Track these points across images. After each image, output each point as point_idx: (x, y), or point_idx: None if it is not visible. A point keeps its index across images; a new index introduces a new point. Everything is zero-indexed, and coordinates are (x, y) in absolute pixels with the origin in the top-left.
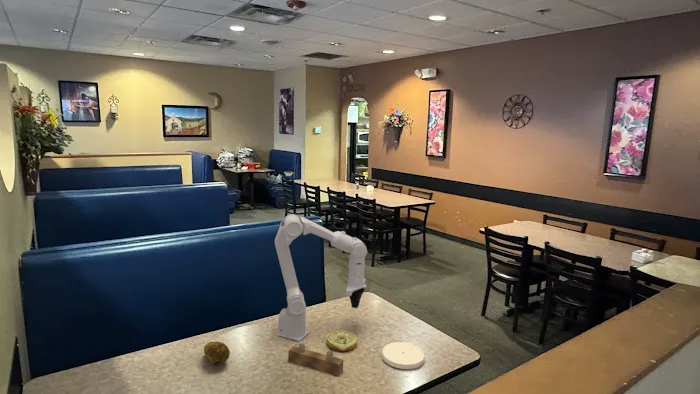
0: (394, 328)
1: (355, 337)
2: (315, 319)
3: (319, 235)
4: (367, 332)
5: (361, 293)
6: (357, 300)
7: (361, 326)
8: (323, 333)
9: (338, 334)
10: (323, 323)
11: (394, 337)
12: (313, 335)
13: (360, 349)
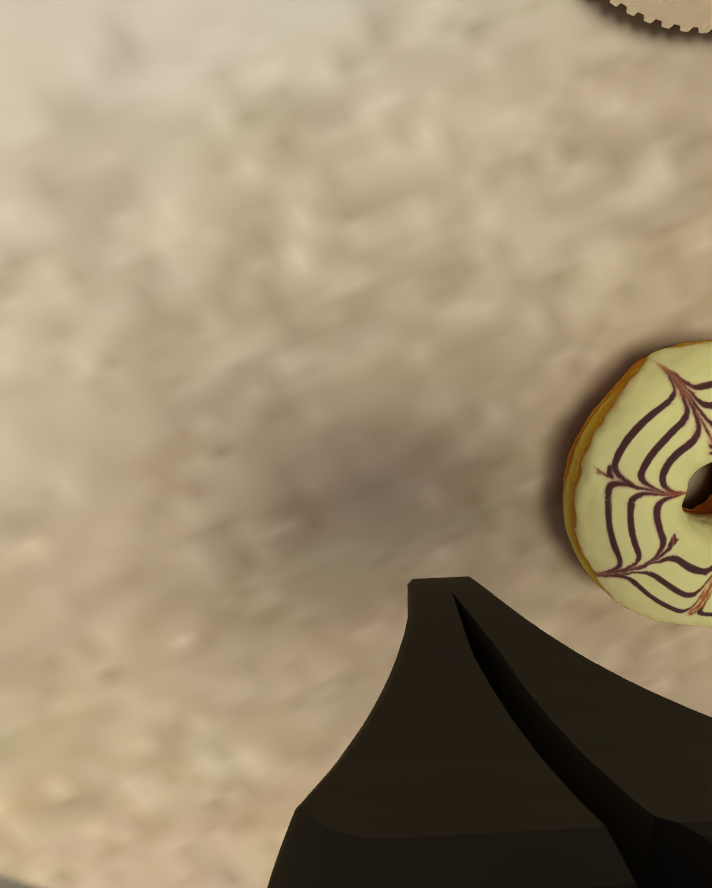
0: (125, 122)
1: (685, 373)
2: None
3: None
4: (362, 359)
5: (637, 775)
6: (586, 670)
7: (280, 458)
8: None
9: (701, 544)
10: None
11: (320, 47)
12: None
13: (693, 289)
